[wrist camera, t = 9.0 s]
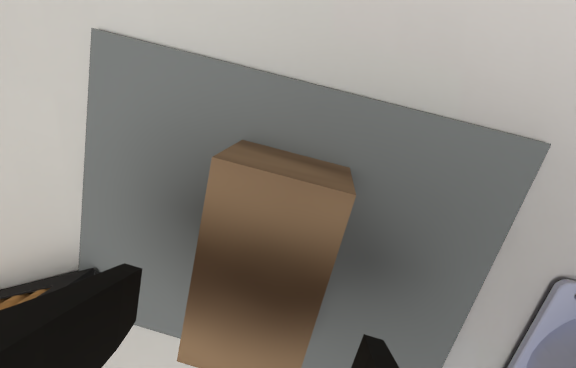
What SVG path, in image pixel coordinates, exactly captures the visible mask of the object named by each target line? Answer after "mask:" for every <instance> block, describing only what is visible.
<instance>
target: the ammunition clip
mask: <svg viewBox="0 0 576 368" xmlns="http://www.w3.org/2000/svg"><path fill="white" fill-rule="evenodd" d="M96 274H97V272H96V270H95V269H94V268H90V269H86V270H82V271H77V272H73V273H69V274H65V275H61V276H57V277H53V278H49V279H44V280H40V281H36V282H32V283H28V284H24V285H20V286H16V287H11V288H7V289H3V290H0V310H2V309H5V308H8V307H11V306H14V305H17V304H20V303H22V302H25V301H28V300H31V299H33V298H36V297H39V296H42V295H45V294H47V293H50V292H53V291H56V290H58V289H61V288H63V287H66V286H68V285H71V284H73V283H76V282H78V281H81V280H83V279H86V278H88V277H91V276H93V275H96Z"/></svg>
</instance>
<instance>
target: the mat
mask: <svg viewBox="0 0 576 368" xmlns="http://www.w3.org/2000/svg"><path fill="white" fill-rule="evenodd" d="M241 140H246V141H249V142H253V143H257V144H261V145H265V146H269V147H272V148H276V149H280V150H284V151H288V152H292V153H295V154H299V155H303V156H307V157H311V158H314V159H318V160H322V161H326V162H330V163H334V164H337V165H341V166H345V167H349V168H350V171H351V175H352V179H353V184H354V188H355V192H356V198H355V201H354V204H353V207H352V210H351V213H350V216H349V220H348V223H347V226H346V229H345V232H344V235H343V238H342V242H341V245H340V248H339V251H338V254H337V257H336V260H335V263H334V267H333V270H332V273H331V276H330V279H329V282H328V285H327V288H326V292H325V295H324V298H323V301H322V304H321V307H320V310H319V314H318V317H317V320H316V323H315V326H314V329H313V332H312V335H311V339H310V342H309V345H308V348H307V351H306V354H305V357H304V361H303V364H302V367H301V368H351V366H352V364H353V361H354V359H355V356H356V353H357V351H358V348H359V345H360V343H361V340H362V338H363V335H364V334H365V335H368V336H372V337H375V338H379V339H382V340H384V342H385V343H386V345H387V347H388V349H389V350H390V352H391V354H392V356H393V357H394V359H395V361H396V363H397V364H398V366H399V368H442V367H443V365H444V362H445V360H446V358H447V356H448V354H449V352H450V350H451V348H452V346H453V344H454V342H455V340H456V338H457V336H458V334H459V332H460V330H461V328H462V326H463V324H464V322H465V320H466V318H467V316H468V313H469V311H470V309H471V307H472V305H473V303H474V301H475V299H476V297H477V295H478V293H479V291H480V289H481V287H482V285H483V283H484V281H485V279H486V277H487V275H488V273H489V271H490V269H491V266H492V264H493V262H494V260H495V258H496V256H497V254H498V252H499V250H500V248H501V246H502V244H503V242H504V240H505V238H506V236H507V234H508V232H509V230H510V228H511V226H512V224H513V222H514V219H515V217H516V215H517V213H518V211H519V209H520V207H521V205H522V203H523V201H524V199H525V197H526V195H527V193H528V191H529V189H530V187H531V185H532V183H533V181H534V179H535V177H536V175H537V172H538V170H539V168H540V166H541V164H542V162H543V160H544V158H545V156H546V154H547V152H548V150H549V148H550V146H551V144H549V143H545V142H541V141H537V140H533V139H529V138H525V137H521V136H517V135H513V134H509V133H505V132H501V131H498V130H494V129H490V128H486V127H482V126H478V125H474V124H470V123H466V122H462V121H458V120H454V119H450V118H446V117H442V116H438V115H434V114H430V113H426V112H422V111H418V110H414V109H410V108H407V107H403V106H399V105H395V104H391V103H387V102H383V101H379V100H375V99H371V98H367V97H363V96H359V95H355V94H351V93H347V92H343V91H339V90H335V89H331V88H327V87H323V86H319V85H316V84H312V83H308V82H304V81H300V80H296V79H292V78H288V77H284V76H280V75H276V74H272V73H268V72H264V71H260V70H256V69H252V68H248V67H244V66H240V65H236V64H232V63H229V62H225V61H221V60H217V59H213V58H209V57H205V56H201V55H197V54H193V53H189V52H185V51H181V50H177V49H173V48H169V47H165V46H161V45H157V44H153V43H149V42H145V41H141V40H138V39H134V38H130V37H126V36H122V35H118V34H114V33H110V32H106V31H102V30H98V29H94V28H92V30H91V48H90V67H89V85H88V104H87V122H86V141H85V159H84V178H83V197H82V215H81V234H80V252H79V271H82V270H86V269H90V268H94V269H95V270H96V272H97V274H98V273H100V272H103V271H105V270H108V269H110V268H113V267H116V266H118V265H121V264H124V263H125V264H129V265H132V266H136V267H139V268H142V277H141V285H140V293H139V301H138V309H137V317H136V322H135V323H134V325H137V326H140V327H143V328H147V329H150V330H153V331H157V332H160V333H163V334H167V335H170V336H173V337H177V338H180V339H181V335H182V329H183V323H184V317H185V311H186V305H187V300H188V294H189V288H190V282H191V276H192V270H193V265H194V259H195V253H196V247H197V241H198V235H199V230H200V224H201V218H202V212H203V206H204V200H205V195H206V189H207V183H208V177H209V171H210V165H211V160H212V157H213V156H215V155H216V154H218V153H220V152H222V151H223V150H225V149H227V148H229V147H230V146H232V145H234V144H236V143H237V142H239V141H241Z"/></svg>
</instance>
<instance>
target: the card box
mask: <svg viewBox="0 0 576 368" xmlns="http://www.w3.org/2000/svg"><path fill="white" fill-rule="evenodd" d="M355 198H356V192H355V188H354V184H353V179H352V175H351V171H350V168H349V167H345V166H341V165H337V164H334V163H330V162H326V161H322V160H318V159H314V158H311V157H307V156H303V155H299V154H295V153H292V152H288V151H284V150H280V149H276V148H272V147H269V146H265V145H261V144H257V143H253V142H249V141H246V140H241V141H239V142H237V143H236V144H234V145H232V146H230V147H229V148H227V149H225V150H223V151H222V152H220V153H218V154H216V155H215V156H213V157H212V160H211V165H210V171H209V177H208V183H207V189H206V195H205V200H204V206H203V212H202V218H201V224H200V230H199V235H198V241H197V247H196V253H195V259H194V265H193V270H192V276H191V282H190V288H189V294H188V300H187V305H186V311H185V317H184V323H183V329H182V335H181V340H180V346H179V352H178V358H177V361H178V362H181V363H184V364H188V365H191V366H194V367H198V368H301V367H302V364H303V361H304V357H305V354H306V351H307V348H308V345H309V342H310V339H311V335H312V332H313V329H314V326H315V323H316V320H317V317H318V314H319V310H320V307H321V304H322V301H323V298H324V295H325V292H326V288H327V285H328V282H329V279H330V276H331V273H332V270H333V267H334V263H335V260H336V257H337V254H338V251H339V248H340V245H341V242H342V238H343V235H344V232H345V229H346V226H347V223H348V220H349V216H350V213H351V210H352V207H353V204H354V201H355Z"/></svg>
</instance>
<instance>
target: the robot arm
mask: <svg viewBox="0 0 576 368" xmlns="http://www.w3.org/2000/svg"><path fill="white" fill-rule="evenodd" d="M141 277H142V268H139V267H136V266H132V265H129V264H125V263H124V264H121V265H118V266H116V267H113V268H110V269H108V270H105V271H103V272H100V273H98V274H96V275H93V276H91V277H88V278H86V279H83V280H81V281H78V282H76V283H73V284H71V285H68V286H66V287H63V288H61V289H58V290H56V291H53V292H50V293H47V294H45V295H42V296H39V297H36V298H33V299H31V300H28V301H25V302H22V303H20V304H17V305H14V306H11V307H8V308H5V309H2V310H0V368H101V367H102V366H103V365H104V364H105V363H106V362H107V360H108V359H109V358H110V357H111V356H112V354H113V353H114V352H115V351H116V350H117V348H118V347H119V345H120V344H121V342H122V341H123V340H124V338H125V337H126V335H127V334H128V332H129V331H130V329H131V328H132V326H133V325H134V323H135V322H136V317H137V309H138V301H139V293H140V285H141ZM575 294H576V281H573V280H570V279H563V280H560V281H558V282H556V283H555V284H554V286H553V287H552V289H551V291H550V293H549V294H548V296H547V298H546V300H545V301H544V303H543V305H542V307H541V309H540V310H539V312H538V314H537V316H536V317H535V319H534V321H533V323H532V324H531V326H530V328H529V330H528V331H527V333H526V335H525V337H524V339H523V340H522V342H521V344H520V346H519V347H518V349H517V351H516V353H515V354H514V356H513V358H512V360H511V362H510V363H509V365H508V367H507V368H576V296H575ZM351 368H399V366H398V364H397V363H396V361H395V359H394V357H393V356H392V354H391V352H390V350H389V349H388V347H387V345H386V343H385V342H384V340H382V339H379V338H375V337H372V336H368V335H365V334H364V335H363V338H362V340H361V343H360V345H359V348H358V351H357V353H356V356H355V359H354V361H353V364H352V366H351Z"/></svg>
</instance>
